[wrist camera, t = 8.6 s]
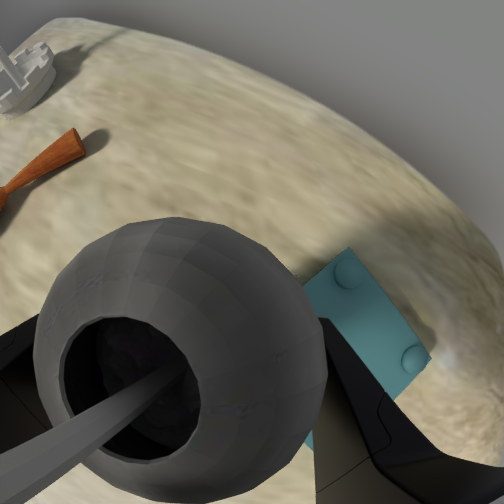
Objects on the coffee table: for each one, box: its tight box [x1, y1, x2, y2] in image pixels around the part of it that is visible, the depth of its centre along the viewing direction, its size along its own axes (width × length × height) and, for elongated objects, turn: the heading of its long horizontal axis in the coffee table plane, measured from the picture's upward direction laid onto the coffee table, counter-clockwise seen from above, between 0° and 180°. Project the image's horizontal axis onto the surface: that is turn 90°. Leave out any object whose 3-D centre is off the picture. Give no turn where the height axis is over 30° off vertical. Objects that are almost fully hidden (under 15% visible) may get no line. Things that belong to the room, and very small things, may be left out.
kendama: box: [0, 128, 85, 212], centre depth 22 cm, size 6×6×20 cm
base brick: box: [303, 247, 432, 450], centre depth 20 cm, size 12×12×3 cm
